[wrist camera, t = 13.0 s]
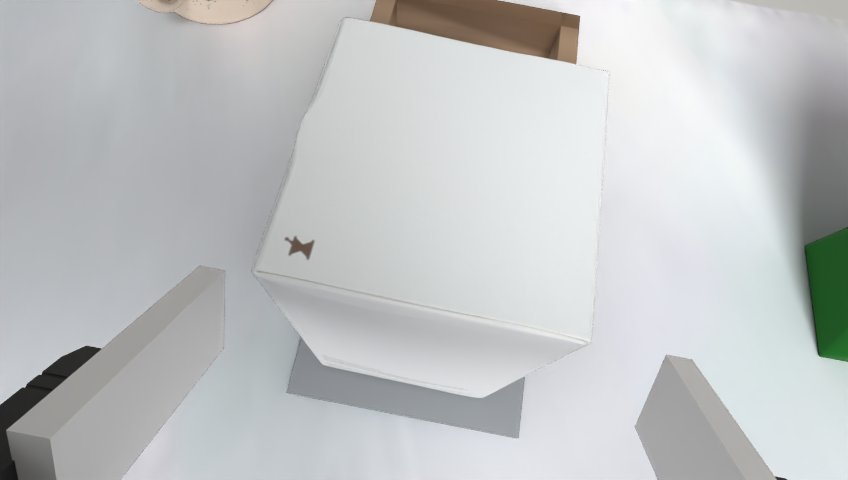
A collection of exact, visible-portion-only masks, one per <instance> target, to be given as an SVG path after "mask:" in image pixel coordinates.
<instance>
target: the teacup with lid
mask: <svg viewBox="0 0 848 480" xmlns="http://www.w3.org/2000/svg"><path fill="white" fill-rule="evenodd" d="M137 1H138V2H139V3H141V4H142V5H143V6H145V7H146V8H149V9H151V10H154V11H157V12H162V13H169V12H172V11H174V12H176V13H177V14H179V15H181V16H182V17H184V18H187V19H189V20H192V21H196V22H199V23H205V24H227V23H233V22H237V21H241V20H244V19H247V18H249V17H251V16H253V15H255V14H257V13H258V12H260V11H261V10H263V9H264V8H265V7H266V6H267V5H268V4H269V3H270V2H271V1H272V0H137Z"/></svg>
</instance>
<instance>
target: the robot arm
mask: <svg viewBox="0 0 848 480" xmlns="http://www.w3.org/2000/svg"><path fill="white" fill-rule="evenodd" d="M224 313H225V270H219V269H214V268H209V267H204V266H199V267H198V268H197V269H195V270H194V271H193V272H192V273H191V274H189V275H188V276H187V277H186V278H185V279H184V280H182V281H181V282H180V283H179V284H178V285H177V286H175V287H174V288H173V289H172V290H171V291H169V292H168V293H167V294H166V295H165V296H164V297H162V298H161V299H160V300H159V301H158V302H157V303H155V304H154V305H153V306H152V307H151V308H149V309H148V310H147V311H146V312H145V313H144V314H142V315H141V316H140V317H139V318H138V319H137V320H135V321H134V322H133V323H132V324H131V325H129V326H128V327H127V328H126V329H125V330H124V331H122V332H121V333H120V334H119V335H118V336H116V337H115V338H114V339H113V340H112V341H111V342H109V343H108V344H107V345H106V346H105V347H104V348H102V349H101V348H96V347H90V346H85V347H82V348H80V349H78V350H76V351H74V352H71V353H69V354H67V355H65V356H62V357H61V358H60V359H58V360H57V361H56V362H54V363H53V364H52V365H51V366H49V367H48V368H47V369H46V370H44V371H43V372H42V375H38V376H37V377H35V378H34V379H33V380H32V381H30V382H29V383H28V384H27V386H26V387H25V388H21V389H20V390H19V391H17V392H16V393H15V394H14V395H12V396H11V397H10V398H9V399H7V400H6V401H5V402H3V403H2V404H1V405H0V480H121V479H122V477H123V476H124V475H125V473H126V472H127V471H128V470H129V468H130V467H131V466H132V465H133V463H134V462H135V461H136V459H137V458H138V457H139V456H140V454H141V453H142V452H143V451H144V449H145V448H146V447H147V445H148V444H149V443H150V442H151V440H152V439H153V438H154V437H155V435H156V434H157V433H158V431H159V430H160V429H161V428H162V426H163V425H164V424H165V423H166V421H167V420H168V419H169V417H170V416H171V415H172V414H173V412H174V411H175V410H176V408H177V407H178V406H179V405H180V403H181V402H182V401H183V400H184V398H185V397H186V396H187V394H188V393H189V392H190V391H191V389H192V388H193V387H194V386H195V384H196V383H197V382H198V380H199V379H200V378H201V377H202V375H203V374H204V373H205V372H206V370H207V369H208V368H209V366H210V365H211V364H212V363H213V361H214V360H215V359H216V358H217V356H218V355H219V354H220V352H221V351H222V350H223V349H224ZM635 429H636V431H637V433H638V435H639V438H640V440H641V442H642V445H643V447H644V449H645V452H646V454H647V456H648V458H649V461H650V463H651V465H652V468H653V470H654V472H655V474H656V477H657V479H658V480H787V479H785V478H780V477H775V476H774V475H773V473H772V472H771V471H770V469H769V468H768V466H767V465H766V464H765V462H764V461H763V459H762V458H761V456H760V455H759V454H758V452H757V451H756V449H755V448H754V447H753V445H752V444H751V442H750V441H749V440H748V438H747V437H746V435H745V434H744V432H743V431H742V430H741V428H740V427H739V425H738V424H737V423H736V421H735V420H734V418H733V417H732V415H731V414H730V413H729V411H728V410H727V408H726V407H725V406H724V404H723V403H722V401H721V400H720V398H719V397H718V396H717V394H716V393H715V391H714V390H713V389H712V387H711V386H710V384H709V383H708V381H707V380H706V379H705V377H704V376H703V374H702V373H701V372H700V370H699V369H698V367H697V366H696V364H695V363H694V362H693V360H692V359H687V358H681V357H676V356H671V355H666V356H665V358H664V361H663V363H662V365H661V368H660V370H659V372H658V374H657V377H656V379H655V381H654V384H653V386H652V388H651V391H650V393H649V395H648V398H647V400H646V402H645V404H644V407H643V409H642V411H641V414H640V416H639V418H638V421H637V423H636V425H635Z"/></svg>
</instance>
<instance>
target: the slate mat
mask: <svg viewBox="0 0 848 480" xmlns="http://www.w3.org/2000/svg"><path fill="white" fill-rule="evenodd" d="M524 380H525V376H524V377H522V378H520V379H518V380H516V381H515V382H513V383H511V384H509V385H507V386H505V387H503V388H501V389H499V390H497V391H496V392H494V393H492V394H490V395H488V396H486V397H484V398H475V397H468V396H463V395H458V394H453V393H449V392H444V391H439V390H435V389H430V388H426V387H421V386H417V385H413V384H408V383H403V382H398V381H394V380H389V379H384V378H380V377H375V376H370V375H366V374H361V373H357V372H352V371H347V370H343V369H338V368H333V367H329V366H325V365H323V364H321V362H320V361H319V360H318V358H317V357H316V356H315V355H314V353H313V352H312V351H311V349H310V348H309V347H308V345H307V344H306V343H305V341H304V340H303V339H302V338H301V341H300V345H299V348H298V352H297V356H296V359H295V363H294V366H293V370H292V374H291V377H290V381H289V384H288V388H287V391H286V392H287V393H290V394H295V395H300V396H305V397H310V398H315V399H320V400H325V401H330V402H335V403H340V404H345V405H350V406H356V407H361V408H366V409H371V410H376V411H381V412H386V413H391V414H396V415H401V416H406V417H411V418H416V419H421V420H426V421H431V422H436V423H442V424H447V425H452V426H457V427H462V428H467V429H472V430H477V431H482V432H487V433H492V434H497V435H502V436H507V437H512V438H519V430H520V420H521V410H522V400H523V390H524Z"/></svg>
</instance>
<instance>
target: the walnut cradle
mask: <svg viewBox="0 0 848 480" xmlns="http://www.w3.org/2000/svg"><path fill="white" fill-rule="evenodd" d="M370 21H371V22H376V23H381V24H386V25H390V26H395V27H400V28H404V29H409V30H414V31H418V32H423V33H427V34H431V35H435V36H440V37H444V38H449V39H454V40H458V41H462V42H467V43H471V44H476V45H481V46H486V47H491V48H496V49H500V50H505V51H510V52H516V53H521V54H526V55H532V56H537V57H543V58H547V59H552V60H558V61H563V62H568V63H572V64H576V60H577V47H578V35H579V22H580V16H578V15H573V14H567V13H562V12H557V11H551V10H546V9H541V8H535V7H530V6H525V5H520V4H514V3H509V2H504V1H498V0H376V3H375V7H374V10H373V13H372V17H371V20H370Z"/></svg>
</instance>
